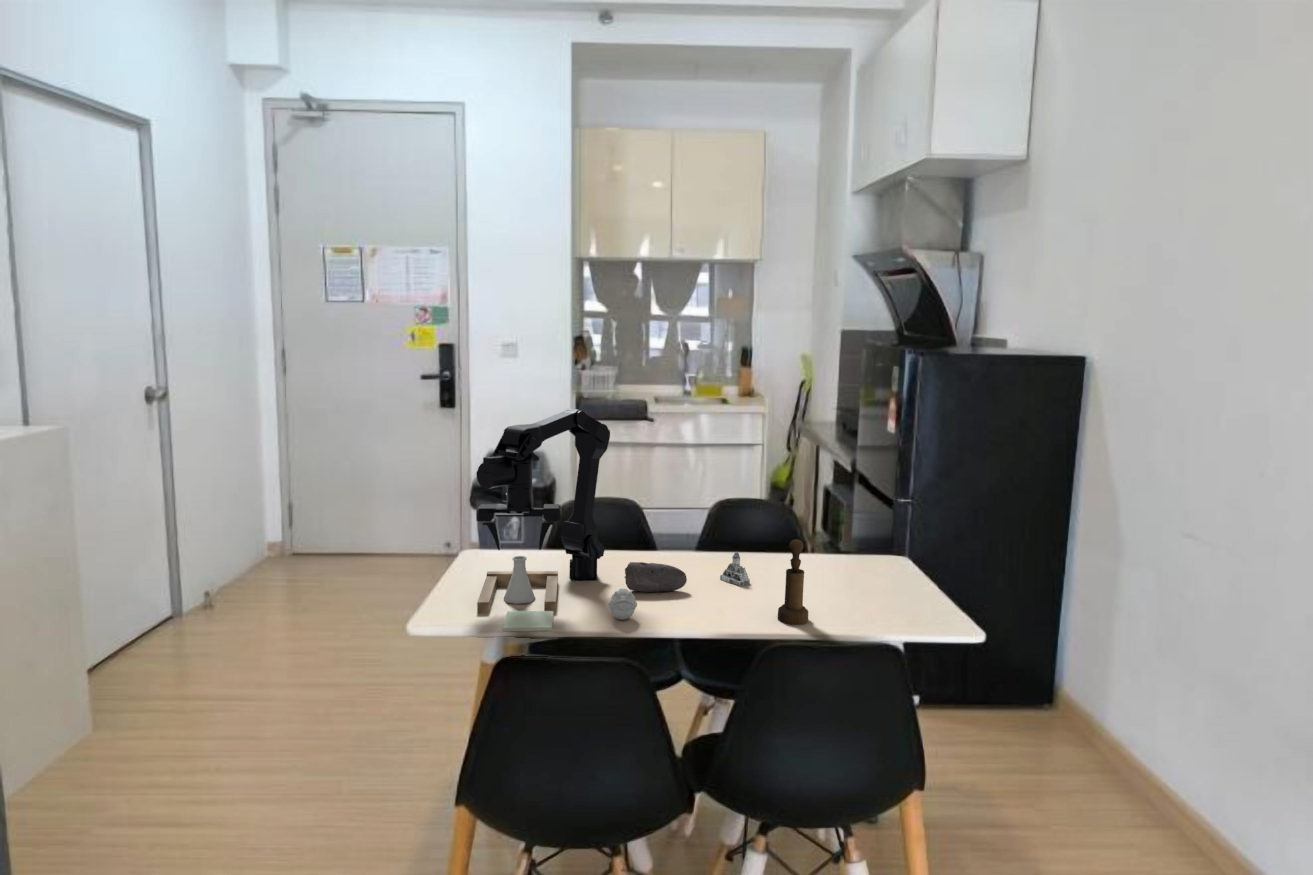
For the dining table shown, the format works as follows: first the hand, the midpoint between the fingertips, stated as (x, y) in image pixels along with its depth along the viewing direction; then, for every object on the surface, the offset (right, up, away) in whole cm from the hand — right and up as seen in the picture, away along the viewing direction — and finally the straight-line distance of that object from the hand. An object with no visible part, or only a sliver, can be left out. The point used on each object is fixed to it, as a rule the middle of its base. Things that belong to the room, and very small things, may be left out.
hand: (519, 549), depth 192 cm
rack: (0, -12, +3) cm, 12 cm away
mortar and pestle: (+61, -15, -8) cm, 63 cm away
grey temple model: (+53, -11, +20) cm, 58 cm away
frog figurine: (+24, -14, -10) cm, 29 cm away
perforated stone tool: (+31, -12, +10) cm, 35 cm away
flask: (0, -12, +2) cm, 12 cm away
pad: (+4, -14, -13) cm, 19 cm away
